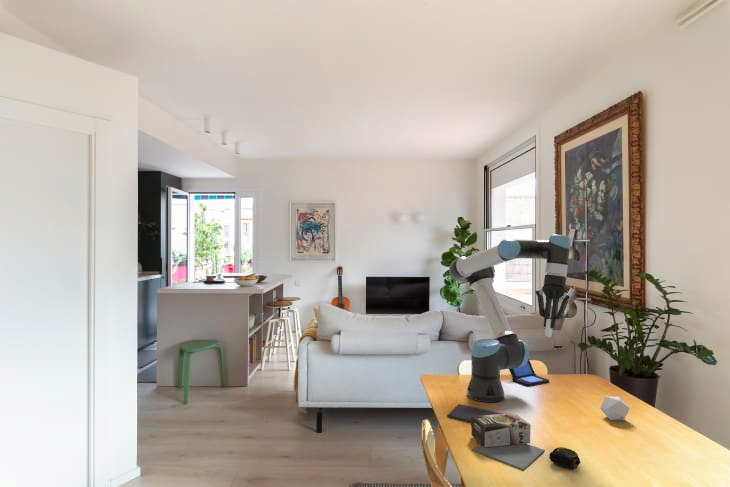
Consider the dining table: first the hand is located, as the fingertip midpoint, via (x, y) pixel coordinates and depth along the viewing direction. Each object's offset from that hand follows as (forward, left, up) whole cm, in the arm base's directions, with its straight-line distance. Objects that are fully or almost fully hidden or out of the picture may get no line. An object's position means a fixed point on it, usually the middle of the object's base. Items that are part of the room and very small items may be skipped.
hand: (548, 336), depth 153 cm
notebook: (-16, -22, -30) cm, 41 cm away
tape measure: (+18, -36, -30) cm, 50 cm away
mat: (+2, -39, -29) cm, 49 cm away
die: (+19, +13, -30) cm, 38 cm away
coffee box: (+2, -28, -26) cm, 38 cm away
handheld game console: (-22, +35, -30) cm, 51 cm away
